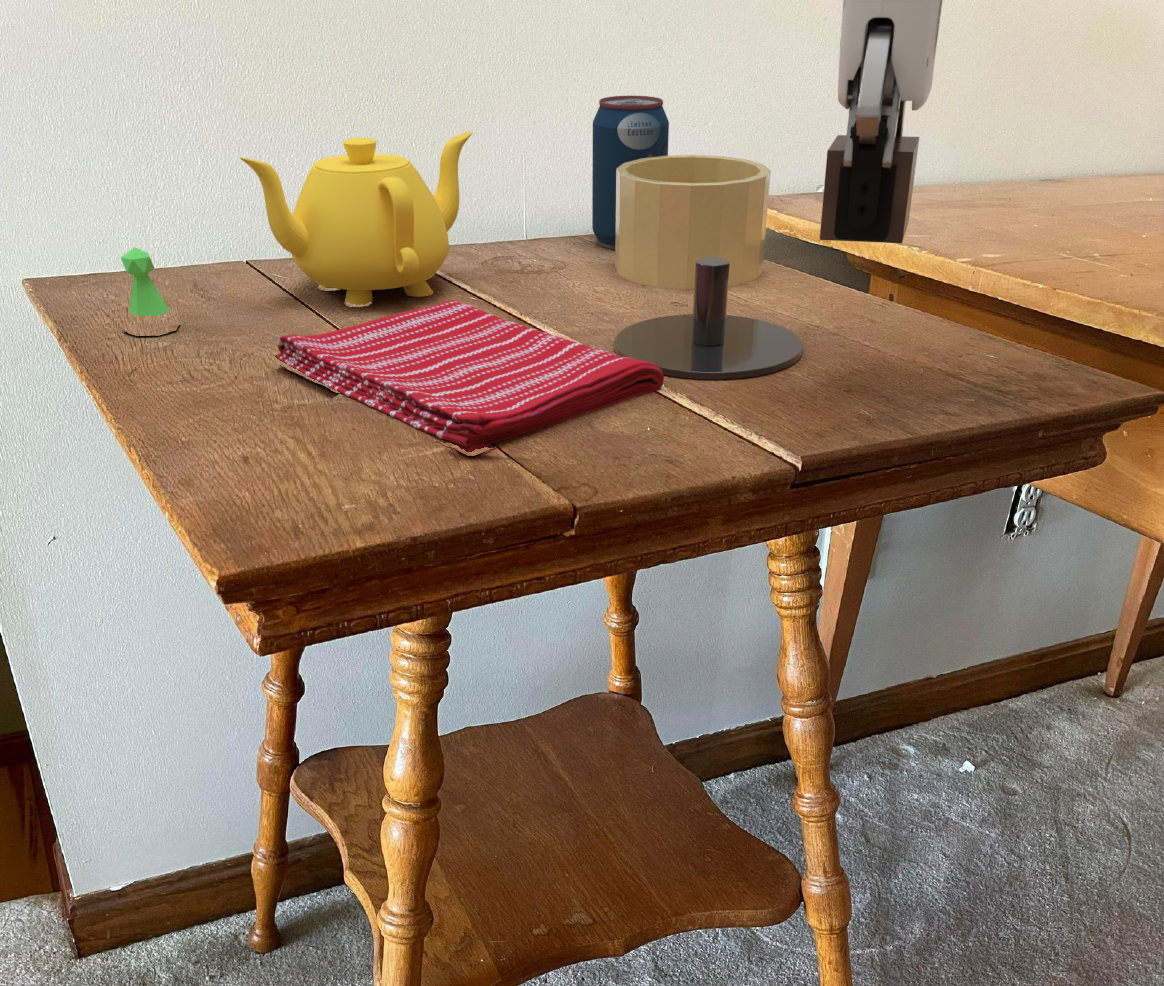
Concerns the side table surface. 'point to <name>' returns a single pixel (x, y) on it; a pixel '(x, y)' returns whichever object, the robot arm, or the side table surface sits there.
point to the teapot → (366, 219)
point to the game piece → (143, 285)
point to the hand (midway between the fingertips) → (865, 224)
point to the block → (902, 190)
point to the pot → (689, 218)
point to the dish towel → (467, 372)
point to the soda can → (622, 151)
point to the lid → (710, 336)
